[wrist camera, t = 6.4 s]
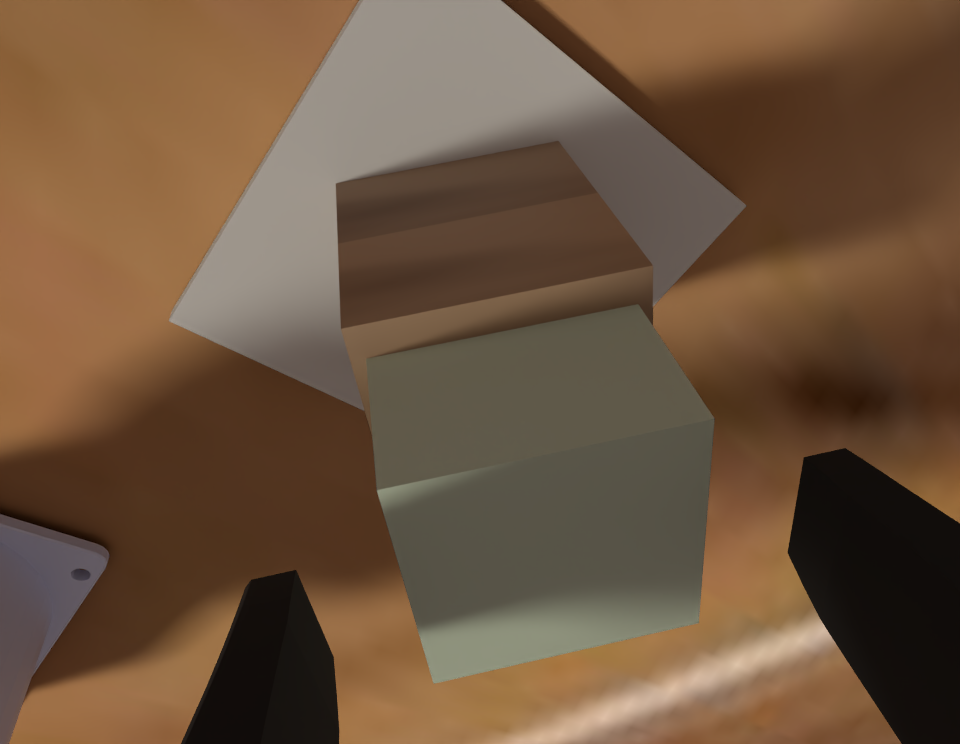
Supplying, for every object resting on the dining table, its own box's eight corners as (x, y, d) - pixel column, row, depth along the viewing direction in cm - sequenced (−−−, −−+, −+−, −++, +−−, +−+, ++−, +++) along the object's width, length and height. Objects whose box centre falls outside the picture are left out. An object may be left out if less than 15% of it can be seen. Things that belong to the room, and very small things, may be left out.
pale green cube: (638, 495, 15) (698, 623, 13) (415, 544, 15) (433, 683, 12) (638, 303, 12) (714, 419, 10) (365, 358, 12) (376, 490, 10)
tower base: (571, 327, 20) (606, 396, 17) (382, 366, 19) (391, 442, 17) (558, 141, 17) (597, 193, 14) (335, 183, 16) (337, 243, 14)
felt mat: (495, 461, 23) (498, 472, 22) (172, 310, 18) (169, 321, 18) (737, 197, 19) (746, 205, 19) (406, -79, 14) (409, -77, 14)
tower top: (606, 396, 17) (651, 487, 15) (391, 442, 17) (403, 542, 15) (597, 193, 14) (653, 265, 12) (337, 243, 14) (340, 329, 12)
